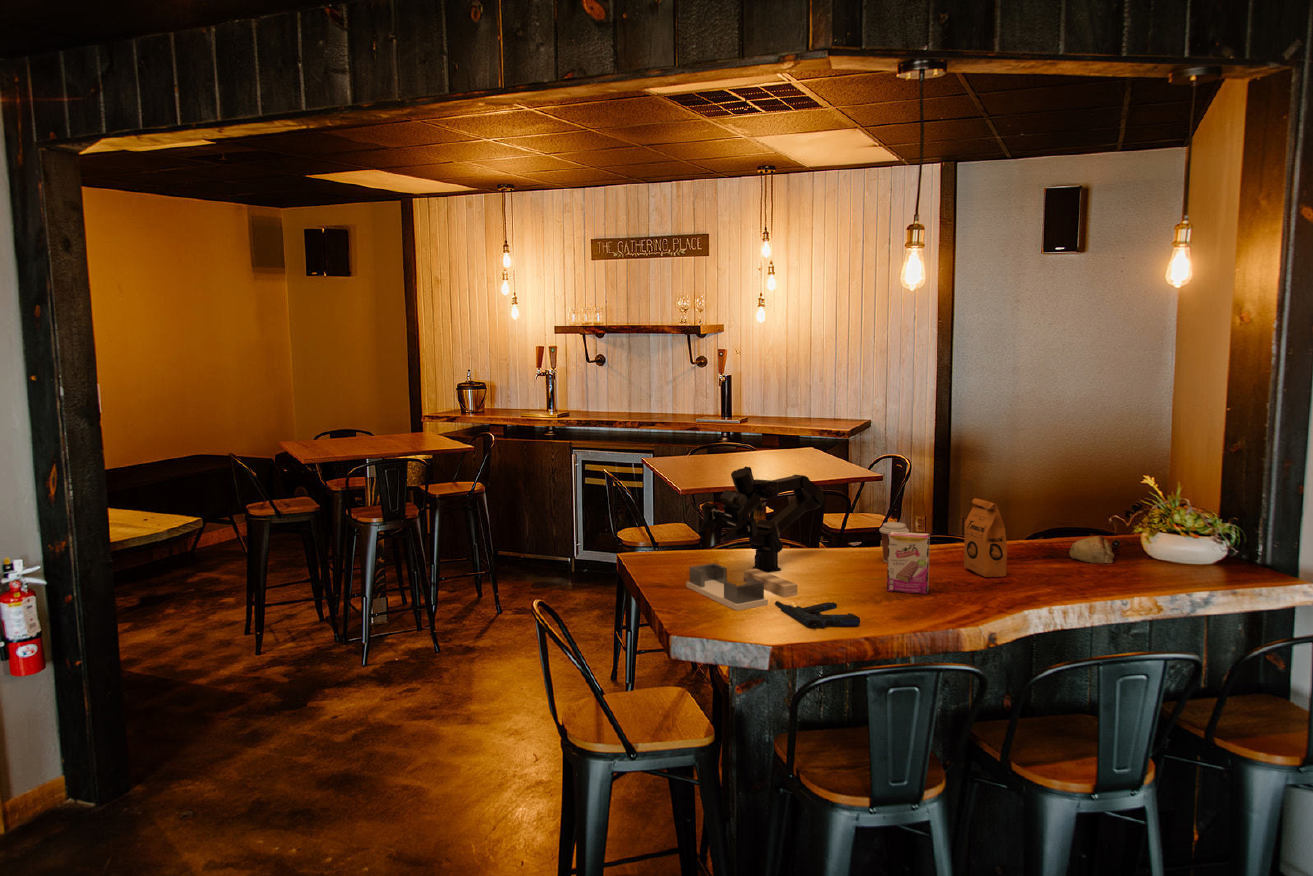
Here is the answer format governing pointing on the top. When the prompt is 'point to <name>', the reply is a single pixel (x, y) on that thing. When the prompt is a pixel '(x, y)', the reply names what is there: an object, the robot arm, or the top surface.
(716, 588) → the end-cap board
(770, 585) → the beige rectangular bar
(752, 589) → the end caps
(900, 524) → the coffee cup
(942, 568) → the top surface
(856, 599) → the top surface
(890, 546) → the candy bar box
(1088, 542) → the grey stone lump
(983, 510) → the coffee package
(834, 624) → the gun
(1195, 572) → the top surface
